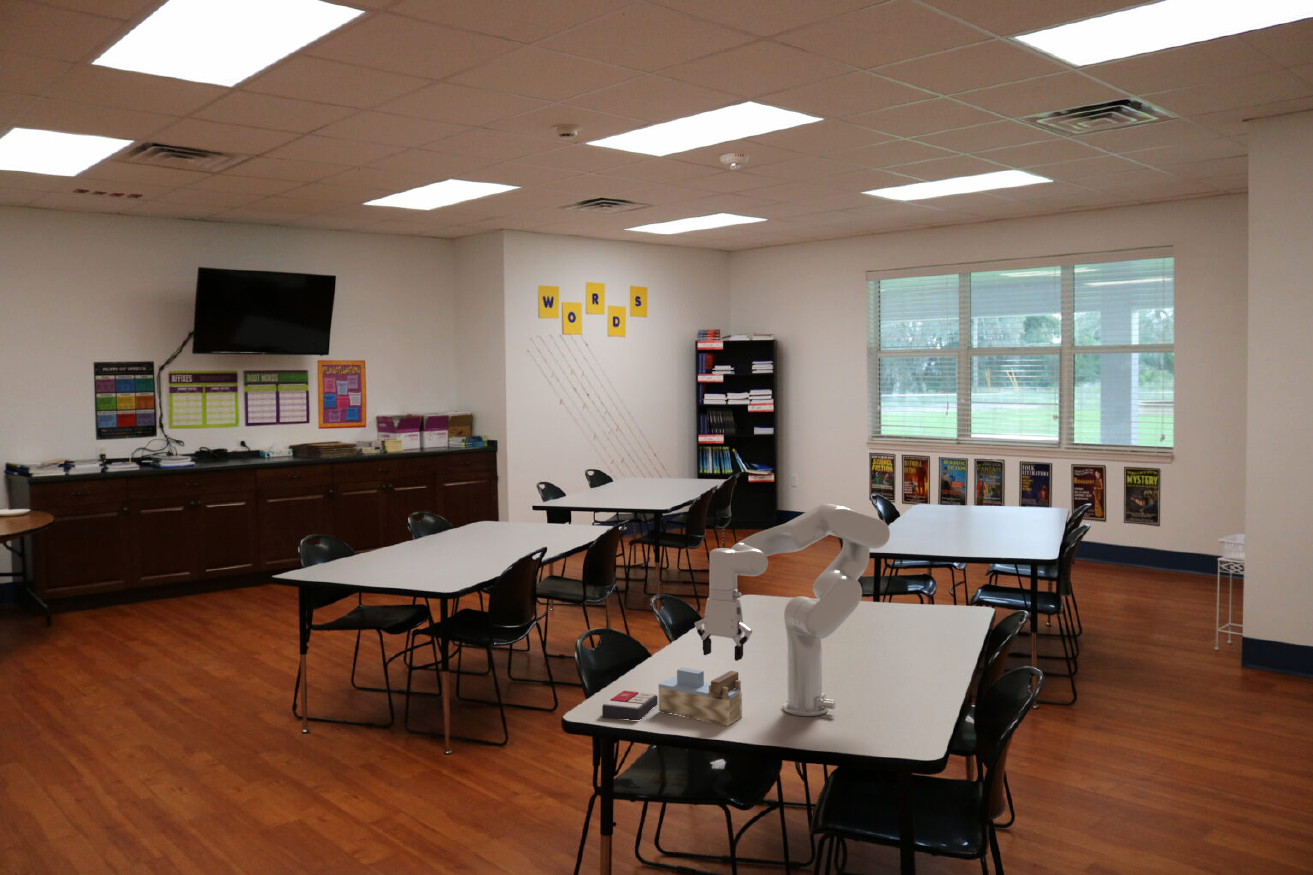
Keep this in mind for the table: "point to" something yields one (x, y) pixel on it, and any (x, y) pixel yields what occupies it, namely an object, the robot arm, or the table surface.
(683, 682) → the lid
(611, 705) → the grey red box
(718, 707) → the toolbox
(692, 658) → the table surface
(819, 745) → the table surface
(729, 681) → the brown wooden block
